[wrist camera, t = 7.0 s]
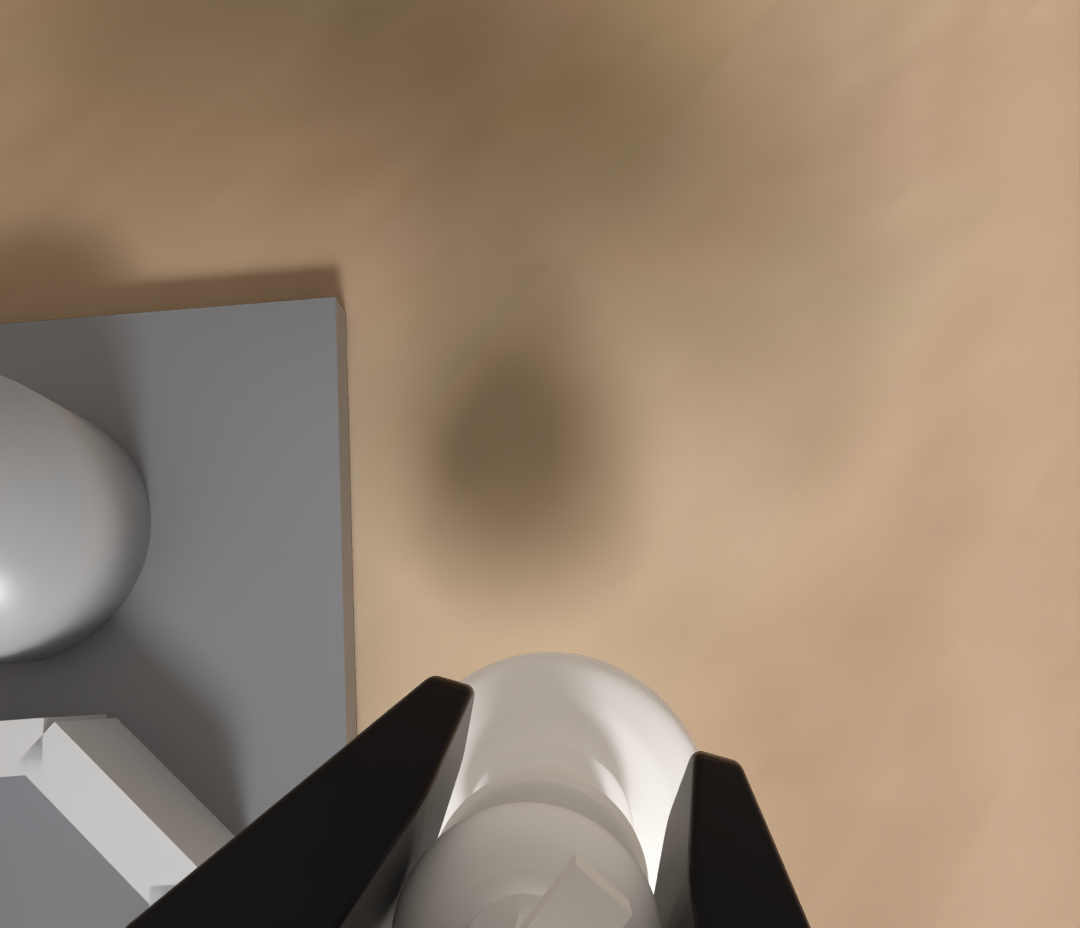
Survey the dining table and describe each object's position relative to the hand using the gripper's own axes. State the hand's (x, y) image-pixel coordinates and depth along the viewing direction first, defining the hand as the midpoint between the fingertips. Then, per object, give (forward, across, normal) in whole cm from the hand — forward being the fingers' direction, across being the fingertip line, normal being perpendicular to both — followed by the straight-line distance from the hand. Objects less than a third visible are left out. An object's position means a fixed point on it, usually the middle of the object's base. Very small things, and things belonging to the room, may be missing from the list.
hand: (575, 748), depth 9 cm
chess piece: (+4, 0, +6) cm, 7 cm away
